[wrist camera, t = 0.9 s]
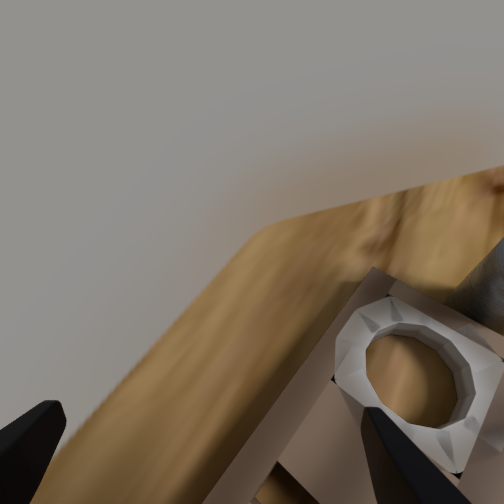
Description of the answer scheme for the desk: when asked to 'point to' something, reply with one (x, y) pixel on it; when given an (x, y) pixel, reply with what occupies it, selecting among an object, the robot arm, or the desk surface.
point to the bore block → (378, 405)
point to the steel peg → (483, 292)
